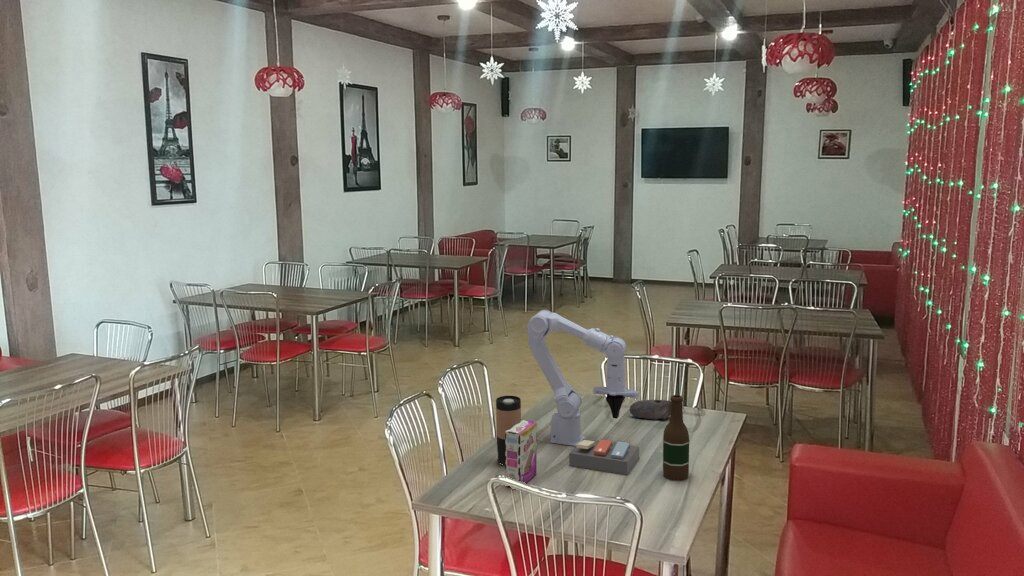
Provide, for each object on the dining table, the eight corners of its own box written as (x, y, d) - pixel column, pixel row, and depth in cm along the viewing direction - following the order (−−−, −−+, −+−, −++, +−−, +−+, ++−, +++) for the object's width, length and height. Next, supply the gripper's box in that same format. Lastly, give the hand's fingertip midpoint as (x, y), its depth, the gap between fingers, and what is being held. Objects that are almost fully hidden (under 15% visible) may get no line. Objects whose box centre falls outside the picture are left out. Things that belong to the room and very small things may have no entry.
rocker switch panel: (569, 465, 228) (569, 452, 228) (583, 450, 240) (583, 437, 239) (627, 475, 221) (627, 461, 220) (639, 458, 232) (639, 445, 232)
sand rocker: (576, 447, 228) (576, 443, 228) (584, 443, 235) (584, 439, 235) (587, 449, 227) (587, 445, 227) (595, 444, 233) (595, 441, 233)
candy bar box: (520, 489, 213) (519, 434, 210) (505, 486, 215) (503, 431, 212) (538, 474, 222) (537, 421, 220) (522, 471, 225) (521, 419, 222)
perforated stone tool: (628, 419, 268) (628, 400, 266) (630, 414, 273) (630, 396, 271) (671, 422, 264) (672, 403, 262) (672, 417, 269) (673, 398, 267)
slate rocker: (611, 457, 224) (611, 454, 223) (618, 444, 229) (617, 441, 229) (623, 459, 222) (622, 456, 222) (629, 445, 228) (629, 442, 228)
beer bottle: (684, 483, 215) (685, 402, 211) (657, 477, 219) (658, 397, 215) (693, 473, 221) (694, 394, 217) (667, 468, 225) (668, 390, 221)
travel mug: (509, 455, 238) (508, 393, 234) (527, 461, 232) (526, 398, 229) (492, 462, 232) (490, 399, 229) (509, 468, 227) (508, 405, 224)
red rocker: (593, 453, 226) (593, 450, 226) (600, 442, 232) (600, 439, 232) (605, 455, 224) (604, 452, 224) (612, 444, 230) (612, 440, 230)
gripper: (589, 377, 239) (590, 418, 242) (634, 382, 233) (634, 424, 236) (597, 371, 246) (597, 411, 248) (640, 376, 240) (640, 417, 242)
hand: (615, 417), depth 242 cm, fingers closed
